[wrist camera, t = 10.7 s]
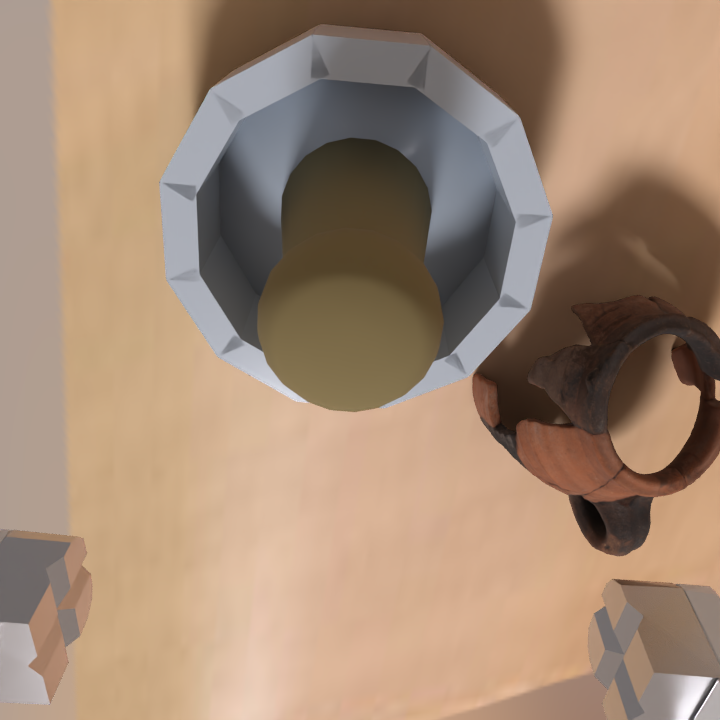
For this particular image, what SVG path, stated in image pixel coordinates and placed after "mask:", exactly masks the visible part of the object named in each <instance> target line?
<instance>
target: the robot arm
mask: <svg viewBox="0 0 720 720" xmlns="http://www.w3.org/2000/svg"><path fill="white" fill-rule="evenodd" d="M86 555H87V551H86V547H85V543H84V538H81V537H76V536H66V535H57V534H47V533H38V532H29V531H19V530H7V529H0V702H7V703H27V704H49V705H50V704H51V701H52V699H53V697H54V695H55V692H56V690H57V688H58V685H59V683H60V681H61V679H62V677H63V674H64V672H65V670H66V667H67V665H68V663H69V662H68V657H67V653H66V648H65V647H66V646H68V645H69V644H70V643H72V642H73V641H74V640H76V639H77V638H78V637H79V636H80V635H81V633H82V631H83V628H84V626H85V623H86V621H87V619H88V614H89V610H90V606H91V601H92V579H91V573H89V572H88V571H87V570H86V569H85V568H84V567H83V566H82V563H83V561H84V559H85V557H86ZM602 597H603V600H604V603H605V607H603V608H602V609H600V610H599V611H597V612H596V613H594V615H593V618H592V620H591V623H590V626H589V632H588V651H589V659H590V663H591V667H592V670H593V674H594V676H595V677H596V678H597V679H598V680H599V681H600V682H601V683H602V684H603V685H604V686H605V688H607V690H608V692H607V694H606V696H605V698H604V701H603V703H602V705H603V708H604V711H605V715H606V718H607V720H720V598H719V596H718V594H717V593H716V592H715V591H714V590H713V589H712V588H711V587H710V586H699V585H686V584H673V583H664V582H650V581H635V580H620V579H612V580H610V581H609V582H608V583H607V584H606V586H605V588H604V591H603V593H602Z"/></svg>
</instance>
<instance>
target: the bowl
mask: <svg viewBox="0 0 720 720" xmlns="http://www.w3.org/2000/svg"><path fill="white" fill-rule="evenodd" d="M346 138H361V139H371V140H377V141H379V142H381V143H384V144H386V145H388V146H390V147H392V148H395V149H397V150H399V151H400V152H401V153H402V154H403V155H404V156H405V157H406V158H407V159H408V160H410V161H411V162H412V163H413V164H414V165H415V166H416V167H417V169H418V171H419V173H420V174H421V176H422V178H423V180H424V182H425V184H426V186H427V187H428V192H429V198H430V204H431V209H432V213H431V219H430V226H429V232H428V239H427V246H426V252H425V259H424V265H425V267H426V268H427V270H428V272H429V273H430V275H431V277H432V279H433V280H434V282H435V284H436V286H437V288H438V292H439V296H440V302H441V308H442V313H443V319H444V325H443V330H442V336H441V341H440V347H439V350H438V353H437V356H436V358H435V360H434V361H433V363H432V365H431V367H430V368H429V370H428V372H427V374H426V375H425V377H424V378H423V379H422V380H421V381H420V382H419V383H418V384H417V385H416V386H414V387H413V388H412V389H411V390H410V391H409V392H408V393H407V394H406V395H404V396H402V397H400V398H398V399H396V400H394V401H392V402H390V403H388V404H385V405H383V406H381V407H379V408H387V407H390V406H392V405H395V404H398V403H400V402H403V401H406V400H408V399H411V398H414V397H416V396H419V395H422V394H424V393H427V392H430V391H432V390H435V389H438V388H440V387H443V386H446V385H448V384H451V383H454V382H456V381H459V380H461V379H464V378H467V377H468V376H470V375H471V374H472V373H473V371H474V370H475V369H476V368H477V367H478V366H479V365H480V364H481V363H482V362H483V361H484V360H485V358H486V357H487V356H488V355H489V354H490V353H491V352H492V351H493V350H494V349H495V348H496V347H497V345H498V344H499V343H500V342H501V341H502V340H503V339H504V338H505V337H506V336H507V335H508V334H509V333H510V331H511V330H512V329H513V328H514V327H515V326H516V325H517V324H518V323H519V322H520V321H521V320H522V318H523V317H524V316H525V315H526V314H527V313H528V312H529V311H530V309H531V306H532V302H533V298H534V293H535V289H536V285H537V281H538V277H539V272H540V268H541V264H542V260H543V256H544V251H545V247H546V243H547V239H548V235H549V231H550V226H551V222H552V218H553V214H552V211H551V208H550V205H549V202H548V200H547V197H546V194H545V191H544V188H543V185H542V182H541V179H540V176H539V173H538V170H537V167H536V164H535V161H534V158H533V155H532V152H531V149H530V146H529V143H528V140H527V137H526V134H525V131H524V128H523V125H522V122H521V119H520V117H519V115H518V114H517V113H516V112H515V111H514V110H513V109H512V108H511V107H510V106H509V105H508V104H507V103H506V102H505V101H504V100H503V99H502V98H501V97H500V96H499V95H498V94H497V93H496V92H494V91H493V90H492V89H491V88H489V87H488V86H487V85H486V84H484V83H483V82H482V81H481V80H479V79H478V78H477V77H476V76H474V75H473V74H472V73H471V72H469V71H468V70H467V69H466V68H464V67H463V66H462V65H461V64H459V63H458V62H457V61H455V60H454V59H453V58H452V57H450V56H449V55H448V54H447V53H445V52H444V51H443V50H442V49H440V48H439V47H438V46H437V45H435V44H434V43H433V42H432V41H430V40H429V39H428V38H427V37H425V36H424V35H423V34H421V33H412V32H401V31H391V30H380V29H370V28H359V27H349V26H338V25H328V24H321V25H320V24H319V25H317V26H316V27H314V28H312V29H310V30H308V31H306V32H304V33H302V34H301V35H299V36H297V37H295V38H293V39H291V40H289V41H287V42H285V43H284V44H282V45H280V46H278V47H276V48H274V49H272V50H270V51H269V52H267V53H265V54H263V55H261V56H259V57H257V58H255V59H253V60H252V61H250V62H248V63H246V64H244V65H242V66H240V67H238V68H237V69H235V70H233V71H232V72H230V73H229V74H228V75H227V76H225V77H224V78H223V79H222V80H220V81H219V82H218V83H217V84H215V85H214V86H213V87H212V88H211V89H210V90H209V92H208V94H207V95H206V97H205V99H204V101H203V103H202V105H201V106H200V108H199V110H198V112H197V114H196V116H195V117H194V119H193V121H192V123H191V125H190V127H189V128H188V130H187V132H186V134H185V136H184V138H183V139H182V141H181V143H180V145H179V147H178V149H177V150H176V152H175V154H174V156H173V158H172V160H171V161H170V163H169V165H168V167H167V169H166V171H165V173H164V174H163V176H162V178H161V180H160V182H159V183H160V198H161V212H162V227H163V241H164V256H165V270H166V279H167V282H168V283H169V285H170V286H171V288H172V289H173V291H174V292H175V294H176V295H177V297H178V298H179V300H180V301H181V303H182V304H183V306H184V307H185V309H186V310H187V312H188V313H189V315H190V316H191V318H192V319H193V321H194V322H195V324H196V325H197V327H198V328H199V330H200V331H201V333H202V334H203V336H204V337H205V339H206V340H207V342H208V343H209V345H210V346H211V348H212V349H213V351H214V352H215V354H216V355H217V357H218V356H219V357H218V358H220V359H222V360H224V361H225V362H227V363H229V364H231V365H232V366H234V367H236V368H238V369H240V370H241V371H243V372H245V373H247V374H248V375H250V376H252V377H254V378H255V379H257V380H259V381H261V382H263V383H264V384H266V385H268V386H270V387H271V388H273V389H275V390H277V391H278V392H280V393H282V394H284V395H286V396H287V397H289V398H291V399H293V400H294V401H297V402H307V401H306V400H304V399H303V398H301V397H300V396H299V395H297V394H296V393H294V392H293V391H292V390H290V389H289V388H287V387H286V386H285V385H283V384H282V382H281V381H280V380H279V379H278V377H277V376H276V375H275V373H274V372H273V371H272V369H271V368H270V367H269V366H268V364H267V362H266V359H265V356H264V353H263V350H262V347H261V344H260V341H259V337H258V332H257V319H258V303H259V300H260V297H261V295H262V292H263V290H264V287H265V285H266V282H267V279H268V277H269V274H270V272H271V270H272V269H273V268H274V267H275V266H276V265H277V264H278V262H279V261H280V260H281V259H282V258H283V254H282V232H281V203H282V194H283V192H284V189H285V186H286V184H287V181H288V179H289V176H290V174H291V173H292V171H293V170H294V169H295V168H296V167H297V165H298V164H299V163H300V162H301V161H302V159H303V158H304V157H305V156H306V155H308V154H309V153H311V152H313V151H314V150H316V149H317V148H319V147H321V146H322V145H324V144H326V143H329V142H333V141H337V140H342V139H346ZM309 403H310V402H309Z"/></svg>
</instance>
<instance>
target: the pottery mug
mask: <svg viewBox="0 0 720 720" xmlns="http://www.w3.org/2000/svg"><path fill="white" fill-rule="evenodd" d="M571 310H572V311H573V313H575V314H576V315H577V316H578V317H579V319H580V320H581V321H582V323H583V327H584V329H585V331H586V333H587V335H588V337H589V339H590V342H591V345H590V346H582V345H573V346H570V347H567V348H564V349H562V350H560V351H558V352H556V353H555V354H553V355H551V356H546V357H541V358H539V359H538V360H536V361H535V363H534V365H533V366H532V368H531V370H530V372H529V373H528V382H529V383H531V384H533V385H536V386H538V387H539V388H542V389H545V390H546V392H547V394H548V395H549V397H550V398H551V399H552V400H553V401H554V402H555V403H556V404H557V405H558V406H560V408H561V409H562V410H563V411H564V413H565V414H566V415H567V416H568V417H569V419H570V420H571V421H572V423H568V424H553V423H547V422H544V421H541V420H538V419H533V418H530V419H526V420H522V421H520V422H519V423H518V424H517V425H516V432H515V431H511V430H508V429H507V428H506V427H505V426H504V425H503V424H502V423H501V418H500V413H499V407H498V396H497V384H496V383H495V382H494V381H491V380H487V379H485V377H484V376H482V375H481V374H475V375H474V376H473V380H472V381H473V396H474V402H475V405H476V408H477V411H478V413H479V415H480V418H481V420H482V422H483V424H484V425H485V426H486V428H487V429H488V430H489V431H490V432H491V434H492V435H493V437H494V438H495V439H496V440H497V441H498V442H499V443H500V444H502V445H503V446H504V447H505V449H507V451H508V452H509V453H510V454H511V455H512V456H513V457H514V458H515V459H516V460H517V461H518V462H519V463H520V464H521V465H522V466H523V467H525V468H526V469H527V470H528V471H530V472H531V473H532V474H533V475H534V476H536V477H537V478H539V479H540V480H541V481H542V482H544V483H545V484H547V485H549V486H551V487H553V488H555V489H557V490H559V491H561V492H563V493H565V494H567V495H569V500H570V504H571V507H572V510H573V513H574V516H575V518H576V521H577V523H578V525H579V527H580V529H581V531H582V533H583V535H584V536H585V538H586V539H587V540H588V542H589V543H590V544H591V545H592V546H593V547H594V548H595V549H597V550H600V551H602V552H604V553H606V554H610V555H615V556H624V555H627V554H628V553H630V552H631V551H632V550H635V549H637V548H639V547H640V546H641V545H642V544H643V543H644V542H645V540H646V537H647V535H648V533H649V529H650V523H651V522H650V508H651V503H652V500H653V498H654V497H658V496H665V495H670V494H673V493H675V492H678V491H680V490H683V489H685V488H686V487H687V486H688V485H690V484H692V483H693V482H694V481H695V480H696V479H698V478H699V477H700V476H701V475H702V474H703V473H704V472H705V471H706V470H707V469H708V468H709V467H710V465H711V464H712V463H713V461H714V460H715V459H716V457H717V456H718V454H719V451H720V401H718V400H716V399H715V380H714V379H716V380H719V381H720V339H719V338H718V336H717V335H716V333H715V332H714V331H713V330H712V329H711V328H710V327H708V326H707V325H706V324H705V323H703V322H701V321H699V320H697V319H695V318H693V317H686V316H685V315H684V314H683V313H682V312H681V311H679V310H678V309H677V308H676V307H674V306H673V305H671V304H670V303H668V302H666V301H664V300H662V299H660V298H657V297H652V296H651V297H649V298H648V299H647V298H645V297H643V296H641V295H636V296H630V297H626V298H624V299H620V300H618V301H614V302H607V303H599V304H593V303H586V304H579V305H573V306H572V307H571ZM661 334H673V335H676V336H678V337H680V338H682V339H683V340H685V341H686V343H685V344H684V345H682V346H679V347H677V348H675V349H674V350H672V356H671V357H672V361H673V364H674V368H675V370H676V372H677V375H678V378H679V379H680V381H681V382H682V383H683V384H686V385H689V386H690V385H695V386H696V387H697V388H698V389H699V390H700V391H701V396H700V405H699V411H698V415H697V419H696V422H695V425H694V428H693V430H692V432H691V435H690V437H689V439H688V440H687V442H686V444H685V445H684V447H683V448H682V450H681V451H680V453H679V454H678V455H677V457H676V458H675V459H674V460H673V461H672V462H671V463H670V464H669V465H668V466H667V467H666V468H664V469H663V470H661V471H659V472H656V473H652V474H639V473H636V472H634V471H632V470H631V469H630V468H628V467H627V466H626V465H625V464H624V463H623V462H622V460H621V459H620V458H619V456H618V455H617V453H616V451H615V449H614V446H613V443H612V441H611V438H610V434H609V432H608V430H607V421H608V416H607V415H608V401H609V396H610V392H611V389H612V386H613V384H614V381H615V378H616V375H617V374H618V372H619V369H620V368H621V366H622V364H623V363H624V361H625V360H626V359H627V357H628V356H629V354H630V353H631V352H632V351H633V350H635V349H636V348H637V347H638V346H639V345H641V344H643V343H644V342H646V341H648V340H649V339H651V338H653V337H655V336H658V335H661Z"/></svg>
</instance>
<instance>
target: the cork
mask: <svg viewBox="0 0 720 720" xmlns="http://www.w3.org/2000/svg"><path fill="white" fill-rule="evenodd" d="M431 213H432V209H431V204H430V198H429V192H428V187H427V186H426V184H425V182H424V180H423V178H422V176H421V174H420V173H419V171H418V169H417V167H416V166H415V165H414V164H413V163H412V162H411V161H410V160H408V159H407V158H406V157H405V156H404V155H403V154H402V153H401V152H400V151H399V150H397V149H395V148H392V147H390V146H388V145H386V144H384V143H381V142H379V141H377V140H371V139H361V138H346V139H342V140H337V141H333V142H329V143H326V144H324V145H322V146H321V147H319V148H317V149H316V150H314V151H313V152H311V153H309V154H308V155H306V156H305V157H304V158H303V159H302V161H301V162H300V163H299V164H298V165H297V167H296V168H295V169H294V170H293V171H292V173H291V174H290V176H289V179H288V181H287V184H286V186H285V189H284V192H283V194H282V203H281V232H282V254H283V258H282V259H281V260H280V261H279V262H278V264H277V265H276V266H275V267H274V268H273V269H272V270H271V272H270V274H269V277H268V279H267V282H266V285H265V287H264V290H263V292H262V295H261V297H260V300H259V303H258V319H257V332H258V337H259V341H260V344H261V347H262V350H263V353H264V356H265V359H266V362H267V364H268V366H269V367H270V368H271V369H272V371H273V372H274V373H275V375H276V376H277V377H278V379H279V380H280V381H281V382H282V384H283V385H285V386H286V387H287V388H289V389H290V390H292V391H293V392H294V393H296V394H297V395H299V396H300V397H301V398H303V399H304V400H306V401H307V402H310V403H312V404H315V405H318V406H321V407H323V408H326V409H329V410H337V411H348V412H358V411H363V410H369V409H375V408H379V407H381V406H383V405H385V404H388V403H390V402H392V401H394V400H396V399H398V398H400V397H402V396H404V395H406V394H407V393H408V392H409V391H410V390H411V389H412V388H413V387H414V386H416V385H417V384H418V383H419V382H420V381H421V380H422V379H423V378H424V377H425V375H426V374H427V372H428V370H429V368H430V367H431V365H432V363H433V361H434V360H435V358H436V356H437V353H438V350H439V347H440V341H441V336H442V330H443V325H444V319H443V313H442V308H441V302H440V296H439V292H438V288H437V286H436V284H435V282H434V280H433V279H432V277H431V275H430V273H429V272H428V270H427V268H426V267H425V265H424V259H425V252H426V246H427V239H428V232H429V226H430V219H431Z"/></svg>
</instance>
